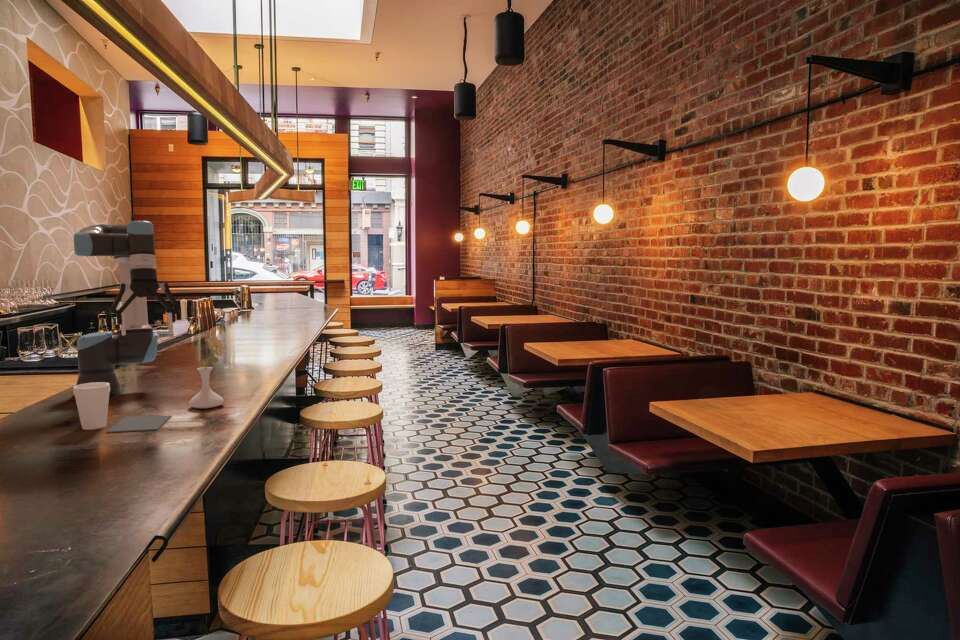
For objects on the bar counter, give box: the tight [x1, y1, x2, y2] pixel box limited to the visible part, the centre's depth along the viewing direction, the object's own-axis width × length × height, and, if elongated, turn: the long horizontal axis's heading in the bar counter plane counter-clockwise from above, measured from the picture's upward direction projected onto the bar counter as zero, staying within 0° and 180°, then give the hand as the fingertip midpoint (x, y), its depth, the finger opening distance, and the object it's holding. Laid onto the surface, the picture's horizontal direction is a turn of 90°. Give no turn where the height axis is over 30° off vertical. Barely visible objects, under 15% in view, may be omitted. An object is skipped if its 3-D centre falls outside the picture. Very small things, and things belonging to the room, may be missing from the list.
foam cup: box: [72, 382, 110, 431], centre depth 187 cm, size 10×9×13 cm
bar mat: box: [105, 414, 172, 434], centre depth 191 cm, size 16×14×1 cm
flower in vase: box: [187, 334, 226, 409], centre depth 212 cm, size 13×11×25 cm
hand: (147, 334), depth 197 cm, fingers open, 13 cm apart
